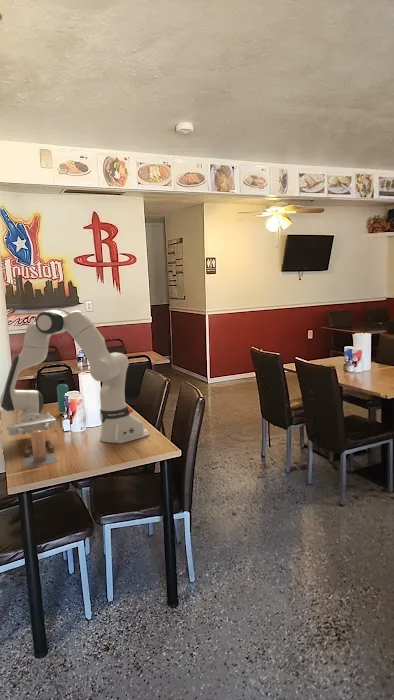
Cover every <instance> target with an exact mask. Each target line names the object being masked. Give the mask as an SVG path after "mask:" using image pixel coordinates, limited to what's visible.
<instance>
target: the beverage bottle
mask: <svg viewBox="0 0 394 700" xmlns="http://www.w3.org/2000/svg"><path fill="white" fill-rule="evenodd" d="M57 383H58V385H57V386H56V394H57V403H58V404H57V407H58V408H57V409H58V412H59V413H66V412H65V405H64V395H65V393H67V392H69V393H70V391H69V386H68V384H66V378H58V380H57Z"/></svg>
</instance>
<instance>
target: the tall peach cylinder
mask: <svg viewBox="0 0 394 700" xmlns="http://www.w3.org/2000/svg"><path fill="white" fill-rule="evenodd" d="M30 437H31V438H30V439H31V444H32V449H33V459H34V462H42V461H45V460H46V454H47V453H46V448H45V441H46V439H45V430H44V429H43V430H41V429H40V430H34V431H31V433H30Z"/></svg>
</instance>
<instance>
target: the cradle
mask: <svg viewBox="0 0 394 700" xmlns="http://www.w3.org/2000/svg"><path fill="white" fill-rule="evenodd" d="M22 448H23V452H24V453H25V458H27V457H32V456H33V449H32V443H29V444H24V445H23V447H22ZM45 448H46V454H47V453H52V452H53V453H55V451H54V446H53V444H52V442H51V441H50V440H45Z"/></svg>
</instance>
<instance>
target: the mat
mask: <svg viewBox="0 0 394 700" xmlns="http://www.w3.org/2000/svg"><path fill="white" fill-rule="evenodd" d="M22 459H23V462H24V465H25V468H26V469H27V468H33V467H37V466H43V465H46V464H47V465H48V464H52V463H56V462H58V459H57V458H56V455H55V454H54V452H51V453H46V460H45V461H42V462H34V459H33V456H31V457H23V458H22Z"/></svg>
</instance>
